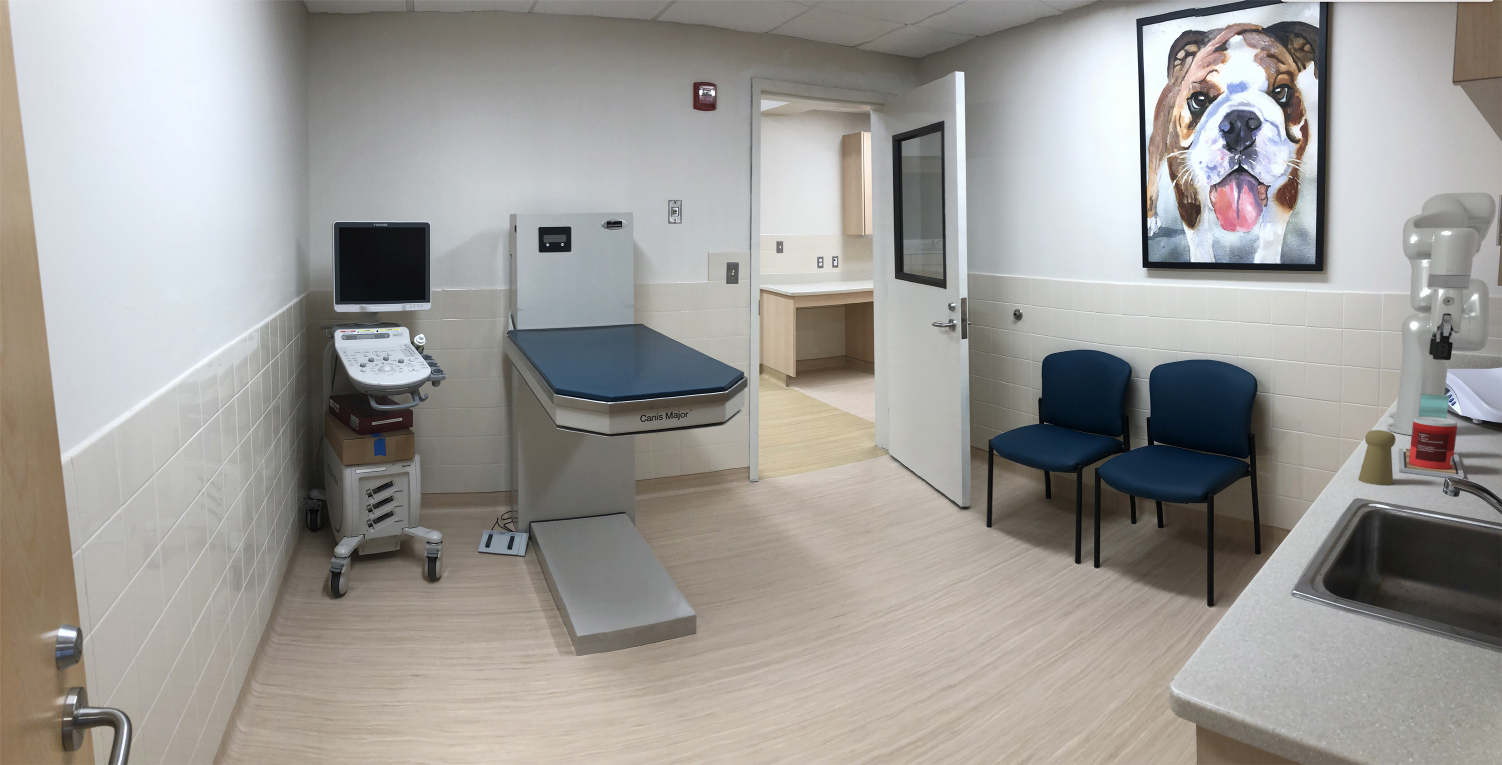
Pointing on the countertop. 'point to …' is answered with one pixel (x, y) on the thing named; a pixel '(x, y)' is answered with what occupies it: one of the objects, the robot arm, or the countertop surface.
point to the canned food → (1433, 442)
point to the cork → (1378, 458)
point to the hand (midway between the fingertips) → (1439, 357)
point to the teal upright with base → (1432, 408)
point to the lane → (1429, 473)
